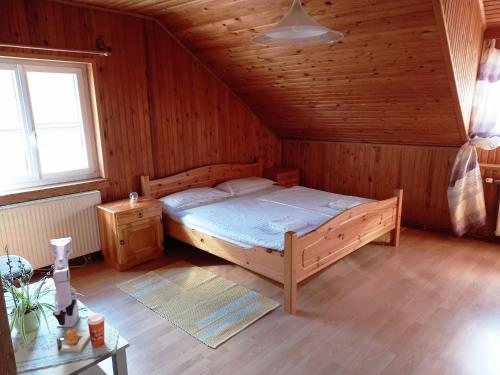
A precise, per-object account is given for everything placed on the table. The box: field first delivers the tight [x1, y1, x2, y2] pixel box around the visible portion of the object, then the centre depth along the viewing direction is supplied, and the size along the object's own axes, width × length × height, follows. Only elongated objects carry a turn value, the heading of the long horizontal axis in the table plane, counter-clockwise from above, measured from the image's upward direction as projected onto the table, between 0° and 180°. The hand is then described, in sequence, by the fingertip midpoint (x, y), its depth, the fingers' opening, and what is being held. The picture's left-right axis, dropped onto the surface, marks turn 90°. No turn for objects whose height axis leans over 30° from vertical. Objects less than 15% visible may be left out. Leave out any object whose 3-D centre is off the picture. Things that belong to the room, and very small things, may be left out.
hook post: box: [56, 337, 65, 351], centre depth 167 cm, size 2×3×5 cm, turn 91°
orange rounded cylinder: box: [66, 328, 79, 346], centre depth 170 cm, size 4×4×6 cm
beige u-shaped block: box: [60, 331, 90, 353], centre depth 172 cm, size 12×9×2 cm
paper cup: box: [86, 312, 106, 348], centre depth 170 cm, size 8×8×14 cm
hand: (66, 320), depth 172 cm, fingers open, 7 cm apart
